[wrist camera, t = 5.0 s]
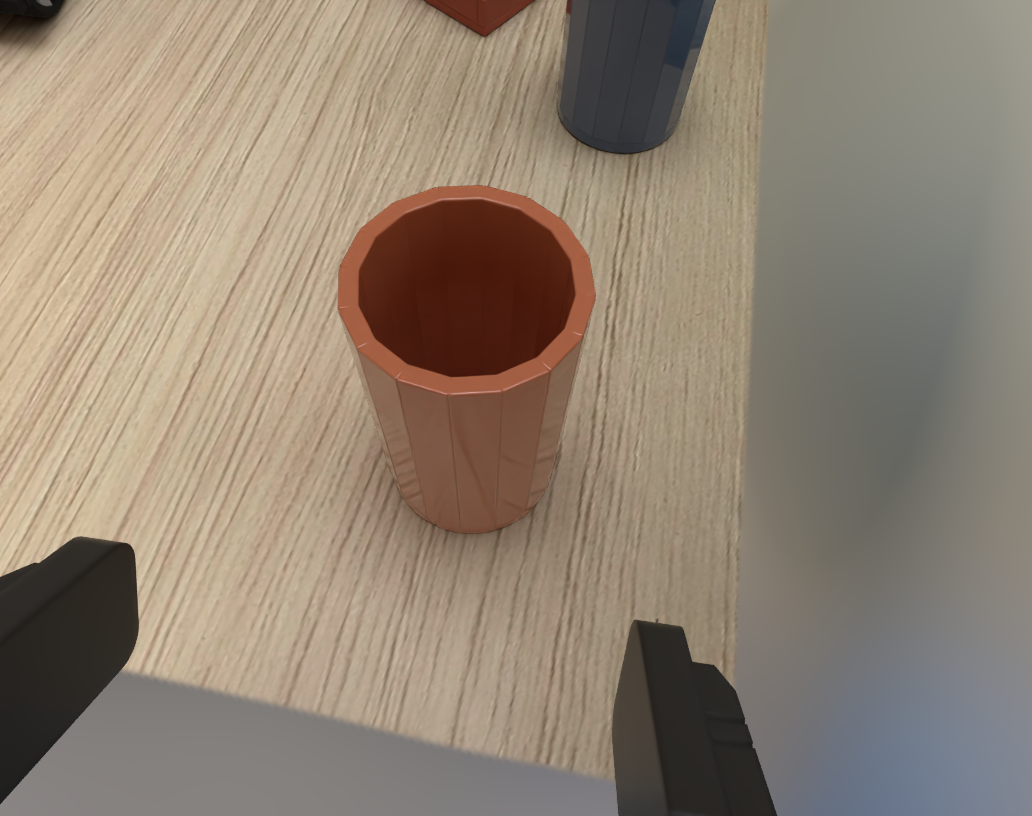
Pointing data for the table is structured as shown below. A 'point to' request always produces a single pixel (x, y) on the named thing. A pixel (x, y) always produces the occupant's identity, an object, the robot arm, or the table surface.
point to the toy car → (30, 7)
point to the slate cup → (628, 69)
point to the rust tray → (480, 12)
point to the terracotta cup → (467, 347)
